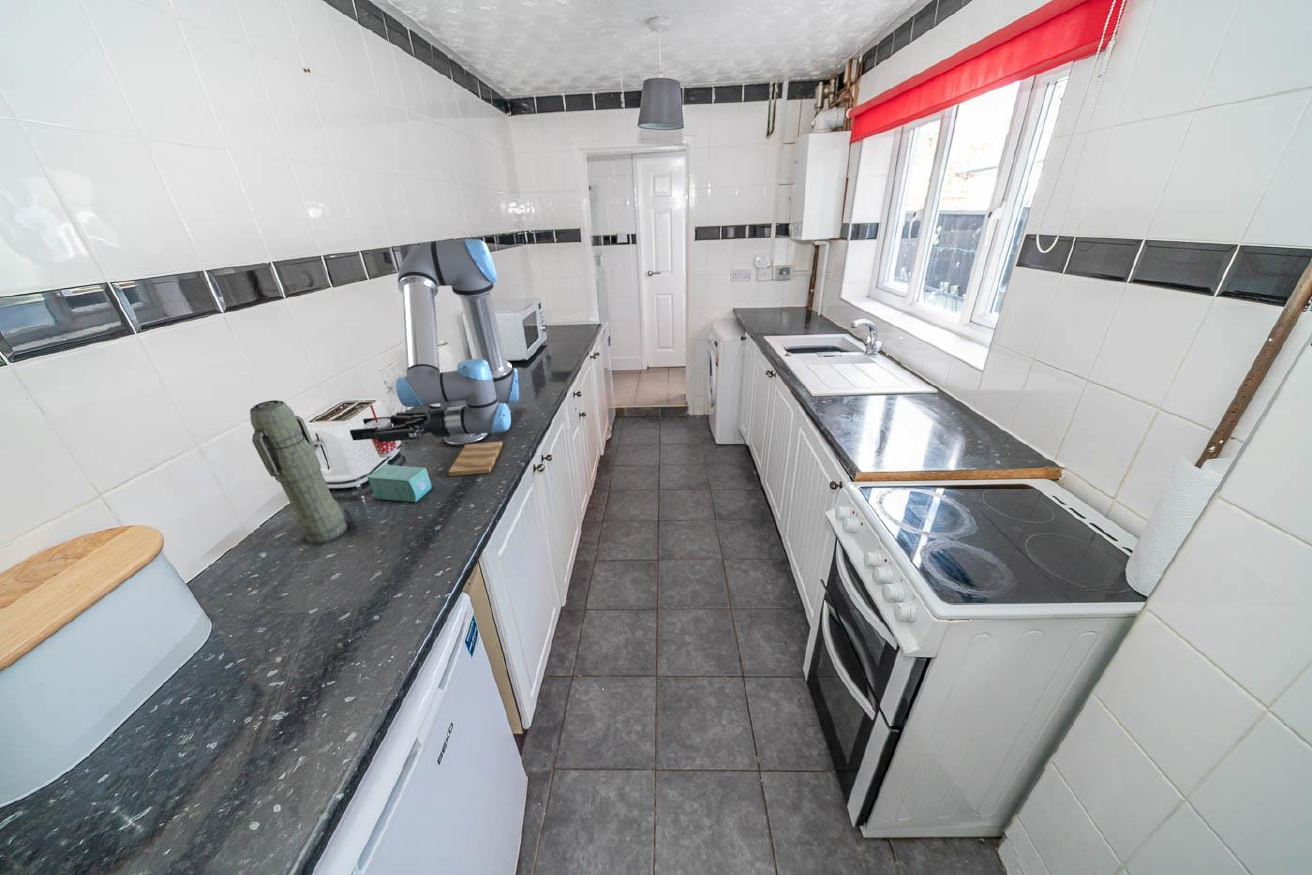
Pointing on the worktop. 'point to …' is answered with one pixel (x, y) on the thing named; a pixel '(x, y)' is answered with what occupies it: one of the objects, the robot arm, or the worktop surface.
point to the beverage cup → (385, 447)
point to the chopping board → (476, 459)
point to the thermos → (296, 469)
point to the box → (400, 483)
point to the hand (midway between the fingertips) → (358, 429)
